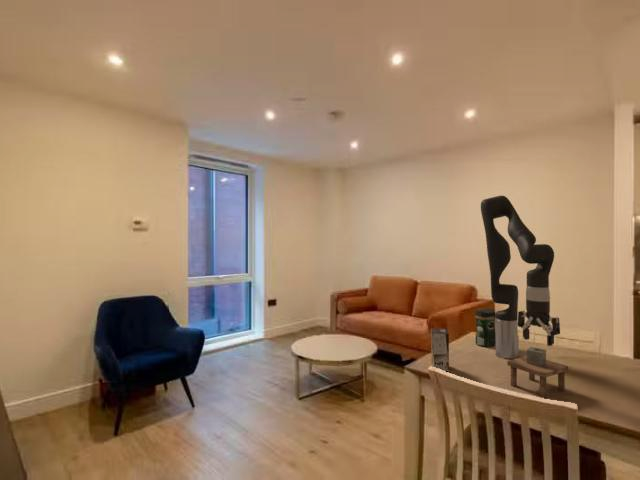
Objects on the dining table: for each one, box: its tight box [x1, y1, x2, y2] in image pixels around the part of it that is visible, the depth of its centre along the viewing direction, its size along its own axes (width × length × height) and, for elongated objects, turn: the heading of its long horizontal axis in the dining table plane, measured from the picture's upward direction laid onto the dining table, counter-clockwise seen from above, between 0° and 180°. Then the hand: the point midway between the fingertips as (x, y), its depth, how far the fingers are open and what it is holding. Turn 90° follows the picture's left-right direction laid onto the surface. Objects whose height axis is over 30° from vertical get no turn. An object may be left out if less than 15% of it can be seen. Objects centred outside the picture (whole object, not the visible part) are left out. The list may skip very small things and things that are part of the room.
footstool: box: [506, 355, 569, 399], centre depth 135 cm, size 14×14×9 cm
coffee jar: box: [474, 307, 496, 348], centre depth 186 cm, size 10×8×19 cm
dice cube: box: [526, 346, 547, 367], centre depth 135 cm, size 5×5×5 cm
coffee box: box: [430, 327, 450, 373], centre depth 156 cm, size 9×6×16 cm
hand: (538, 342), depth 134 cm, fingers open, 8 cm apart
